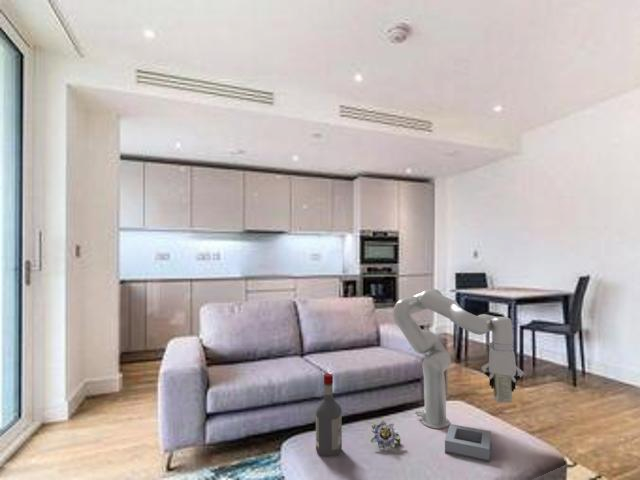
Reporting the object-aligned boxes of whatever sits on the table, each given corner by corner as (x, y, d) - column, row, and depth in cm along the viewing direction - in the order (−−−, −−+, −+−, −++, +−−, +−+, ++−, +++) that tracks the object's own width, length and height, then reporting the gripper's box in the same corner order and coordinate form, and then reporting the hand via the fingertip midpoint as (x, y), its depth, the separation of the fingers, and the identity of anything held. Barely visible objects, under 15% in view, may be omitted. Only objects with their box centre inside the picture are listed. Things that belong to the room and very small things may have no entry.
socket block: (444, 453, 151) (444, 440, 151) (450, 435, 165) (450, 423, 165) (489, 462, 144) (489, 449, 144) (491, 443, 158) (490, 431, 158)
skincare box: (508, 398, 163) (508, 369, 163) (512, 402, 159) (512, 373, 159) (492, 398, 164) (492, 369, 164) (496, 402, 159) (496, 372, 160)
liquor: (343, 447, 156) (342, 372, 157) (336, 458, 148) (336, 379, 149) (321, 443, 159) (321, 370, 160) (314, 454, 151) (313, 377, 152)
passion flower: (385, 463, 154) (370, 442, 151) (378, 445, 164) (363, 425, 162) (408, 447, 154) (393, 426, 151) (399, 430, 164) (385, 410, 162)
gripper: (479, 346, 162) (479, 388, 162) (525, 351, 155) (526, 395, 154) (480, 342, 169) (480, 383, 168) (524, 347, 162) (525, 389, 161)
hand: (502, 388), depth 161 cm, fingers closed on skincare box, 7 cm apart
